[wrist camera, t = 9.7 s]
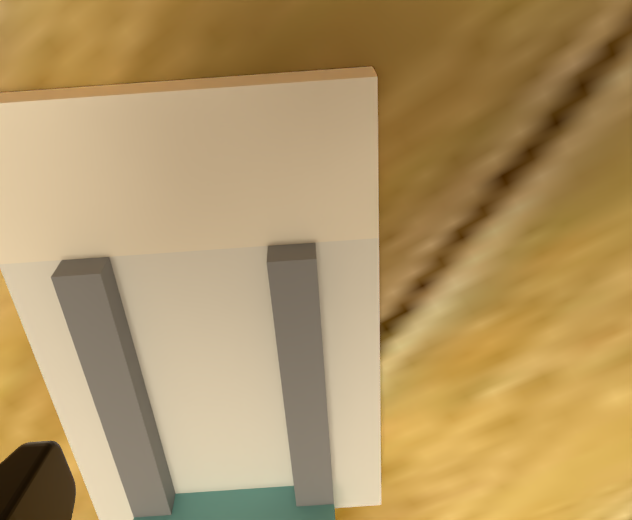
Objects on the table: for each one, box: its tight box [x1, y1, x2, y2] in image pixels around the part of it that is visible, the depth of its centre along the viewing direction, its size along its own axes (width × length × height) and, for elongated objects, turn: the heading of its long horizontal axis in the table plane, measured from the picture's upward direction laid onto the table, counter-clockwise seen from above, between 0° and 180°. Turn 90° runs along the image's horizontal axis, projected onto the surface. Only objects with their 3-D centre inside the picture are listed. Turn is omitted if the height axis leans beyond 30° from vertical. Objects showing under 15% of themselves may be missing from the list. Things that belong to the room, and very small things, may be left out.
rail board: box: [0, 66, 381, 520], centre depth 20 cm, size 12×18×4 cm, turn 4°
